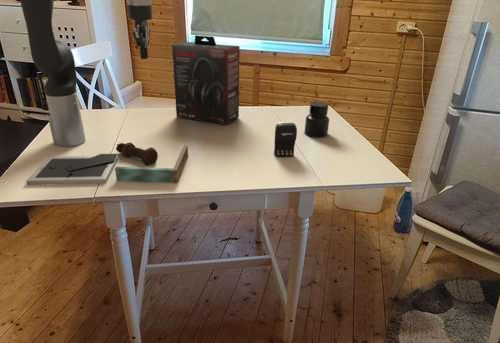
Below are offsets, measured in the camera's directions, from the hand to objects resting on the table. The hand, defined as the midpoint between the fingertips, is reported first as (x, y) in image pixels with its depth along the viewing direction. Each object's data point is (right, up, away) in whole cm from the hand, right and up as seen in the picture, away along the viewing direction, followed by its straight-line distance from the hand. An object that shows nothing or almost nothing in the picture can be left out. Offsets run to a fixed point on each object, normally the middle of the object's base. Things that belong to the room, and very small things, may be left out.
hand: (144, 58), depth 125 cm
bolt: (0, -35, -8) cm, 36 cm away
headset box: (+18, -16, +30) cm, 39 cm away
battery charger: (+48, -34, -3) cm, 59 cm away
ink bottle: (+62, -25, +16) cm, 69 cm away
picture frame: (-15, -40, -18) cm, 46 cm away
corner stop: (+7, -38, -15) cm, 41 cm away
